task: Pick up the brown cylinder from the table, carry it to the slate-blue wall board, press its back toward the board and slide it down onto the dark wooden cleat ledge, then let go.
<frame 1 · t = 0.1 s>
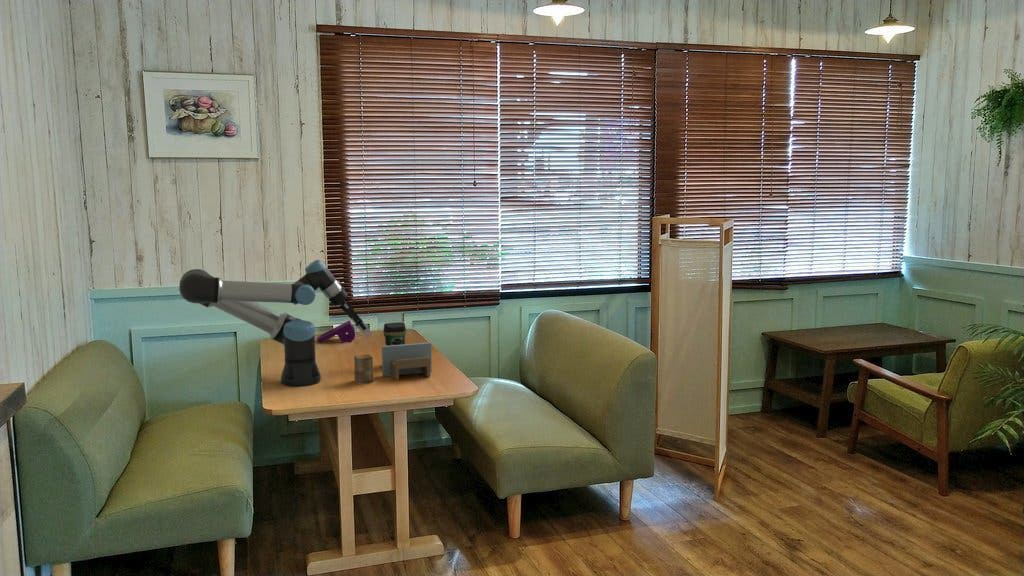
hand: (366, 332, 328), 15 cm above the table, tool tilted 35°, fingers open, 13 cm apart
brown cylinder: (364, 381, 308), on the table
coffee jar: (395, 365, 334), on the table
wall board: (407, 373, 320), on the table
mounting bracket: (336, 341, 386), on the table
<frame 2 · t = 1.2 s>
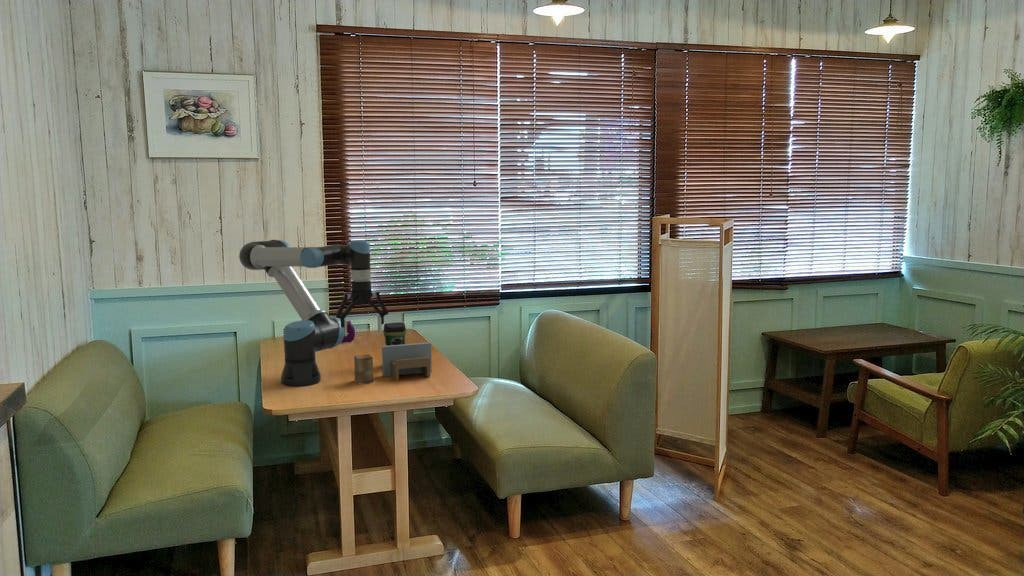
hand: (362, 334, 306), 19 cm above the table, tool pointing down, fingers open, 13 cm apart
nothing on the table moved.
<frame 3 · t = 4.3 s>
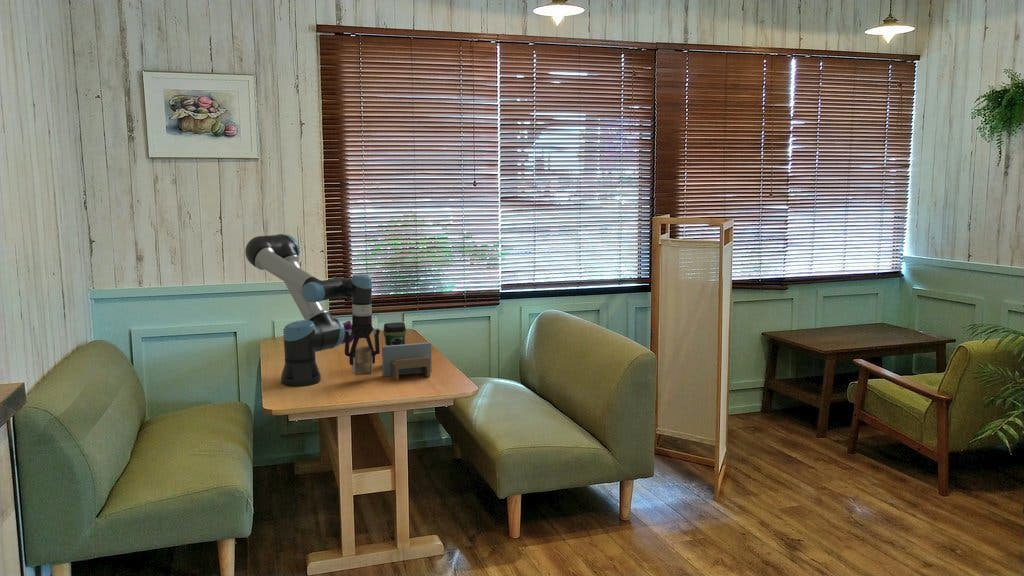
hand: (362, 372, 307), 4 cm above the table, tool pointing down, fingers closed on brown cylinder, 6 cm apart
brown cylinder: (362, 373, 308), point 3 cm above the table, touching gripper
everything else where it was.
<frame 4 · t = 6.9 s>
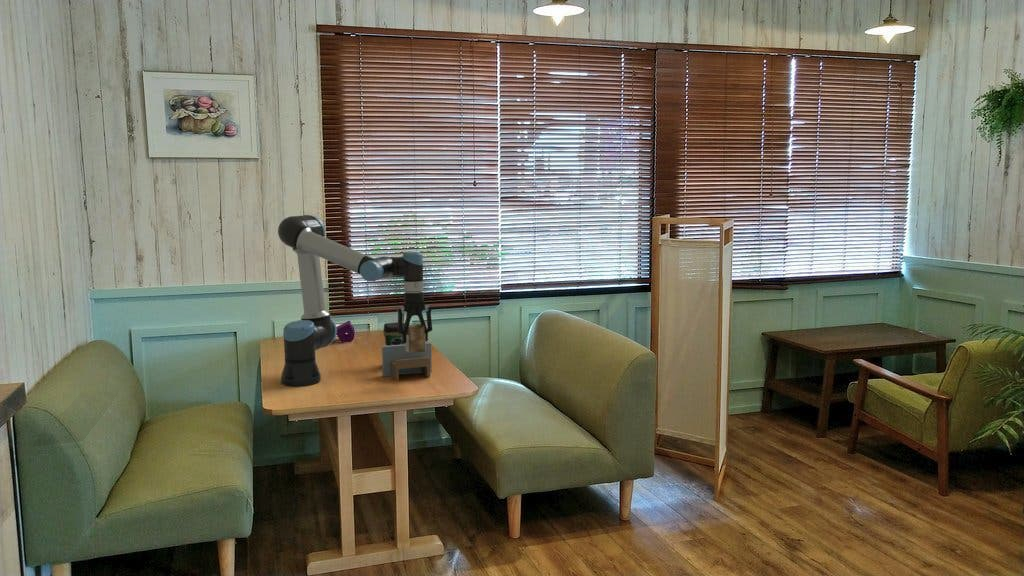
hand: (415, 350, 306), 12 cm above the table, tool pointing down, fingers closed on brown cylinder, 6 cm apart
brown cylinder: (415, 350, 307), point 12 cm above the table, touching gripper
everything else where it was.
when the fingers open (7 cm above the table, at t = 9.7 s): brown cylinder drops 1 cm, resting on wall board.
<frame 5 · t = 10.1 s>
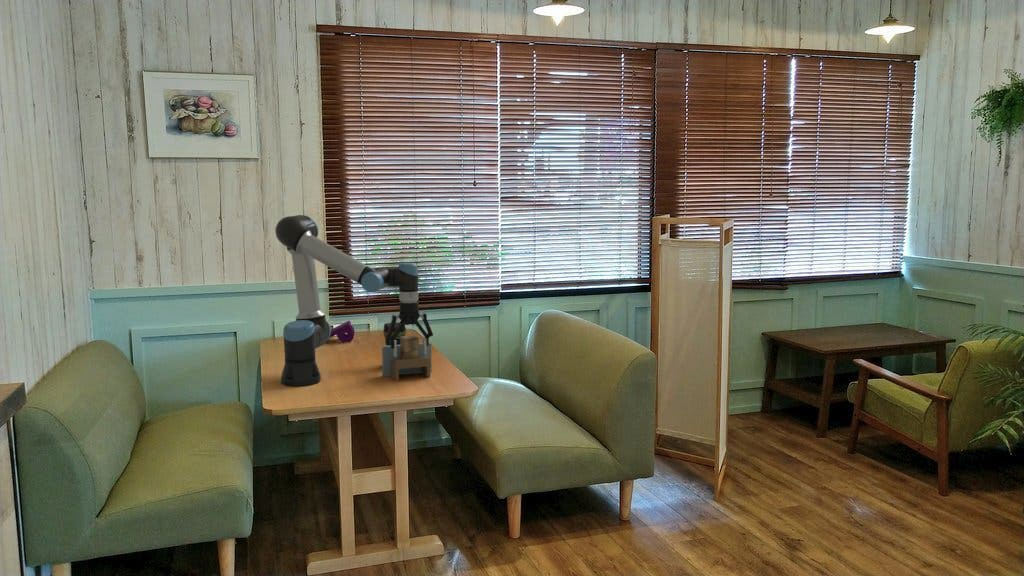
hand: (410, 355, 314), 9 cm above the table, tool pointing down, fingers open, 11 cm apart
brown cylinder: (409, 361, 315), point 6 cm above the table, touching wall board
everything else where it was.
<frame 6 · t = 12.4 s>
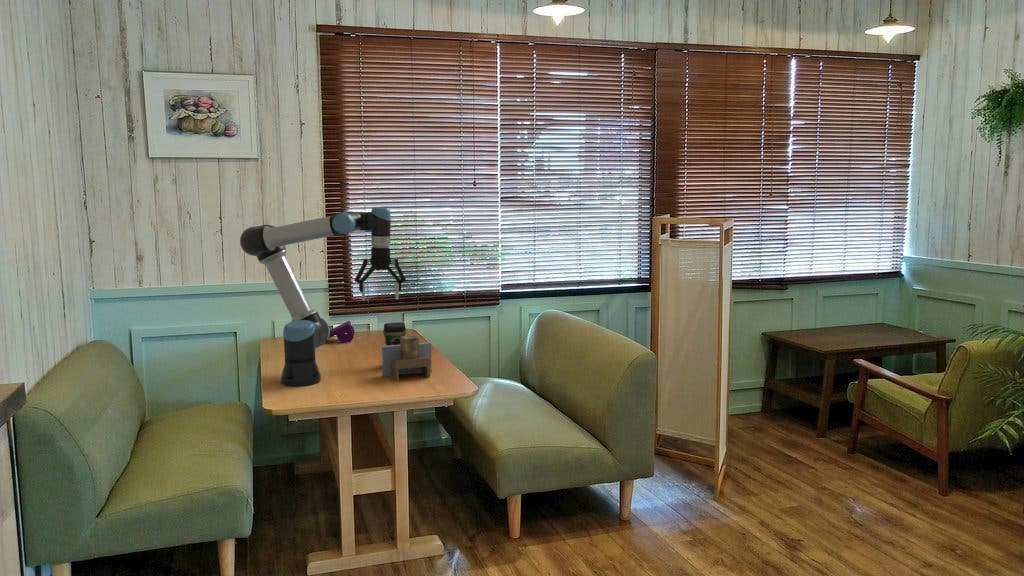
hand: (380, 299, 313), 31 cm above the table, tool pointing down, fingers open, 13 cm apart
nothing on the table moved.
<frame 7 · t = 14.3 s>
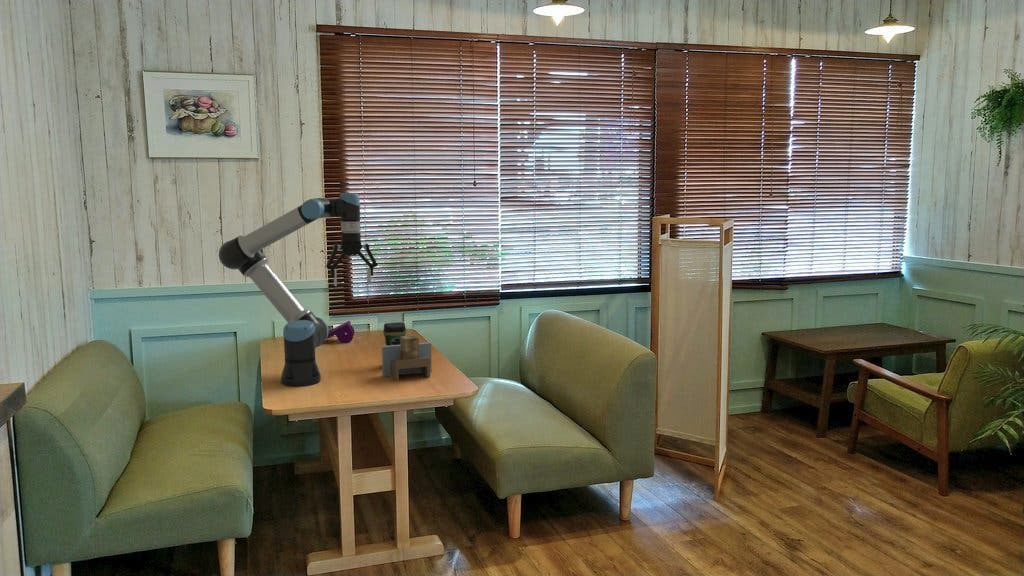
hand: (352, 285, 314), 37 cm above the table, tool pointing down, fingers open, 13 cm apart
nothing on the table moved.
at the end: brown cylinder inside the target area (0.6 cm from its centre), point 6.0 cm above the table; brown cylinder tilted 0°; the gripper is holding nothing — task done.
